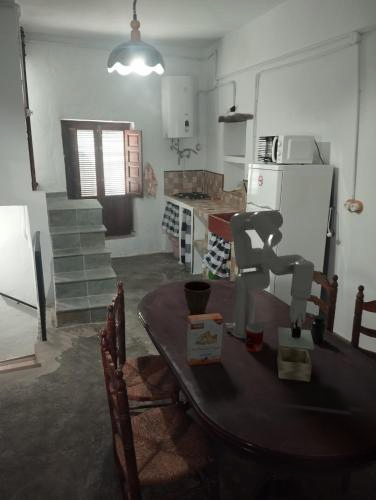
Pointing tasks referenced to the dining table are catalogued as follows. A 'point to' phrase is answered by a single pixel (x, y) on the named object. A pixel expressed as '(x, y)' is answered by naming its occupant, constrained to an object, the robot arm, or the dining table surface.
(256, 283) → the robot arm
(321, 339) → the supplement bottle
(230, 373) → the dining table surface
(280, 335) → the lid
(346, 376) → the dining table surface
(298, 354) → the pine box
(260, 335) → the canned food
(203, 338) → the cracker box
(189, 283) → the plant pot
